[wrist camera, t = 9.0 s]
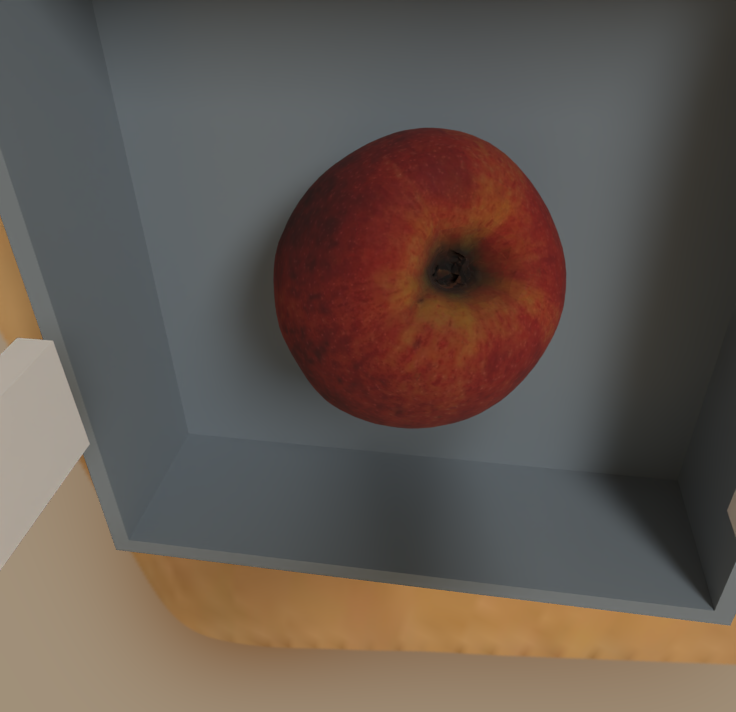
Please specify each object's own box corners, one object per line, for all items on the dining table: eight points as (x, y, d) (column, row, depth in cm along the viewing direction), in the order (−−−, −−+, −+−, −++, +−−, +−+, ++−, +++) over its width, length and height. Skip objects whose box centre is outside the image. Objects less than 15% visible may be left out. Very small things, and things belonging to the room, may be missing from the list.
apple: (610, 242, 21) (657, 413, 14) (410, 366, 24) (375, 546, 18) (455, 36, 18) (426, 128, 12) (259, 209, 22) (155, 352, 15)
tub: (42, -167, 17) (-137, -180, 13) (920, -199, 14) (1127, -233, 10) (181, 435, 29) (116, 549, 24) (688, 484, 26) (730, 625, 21)
